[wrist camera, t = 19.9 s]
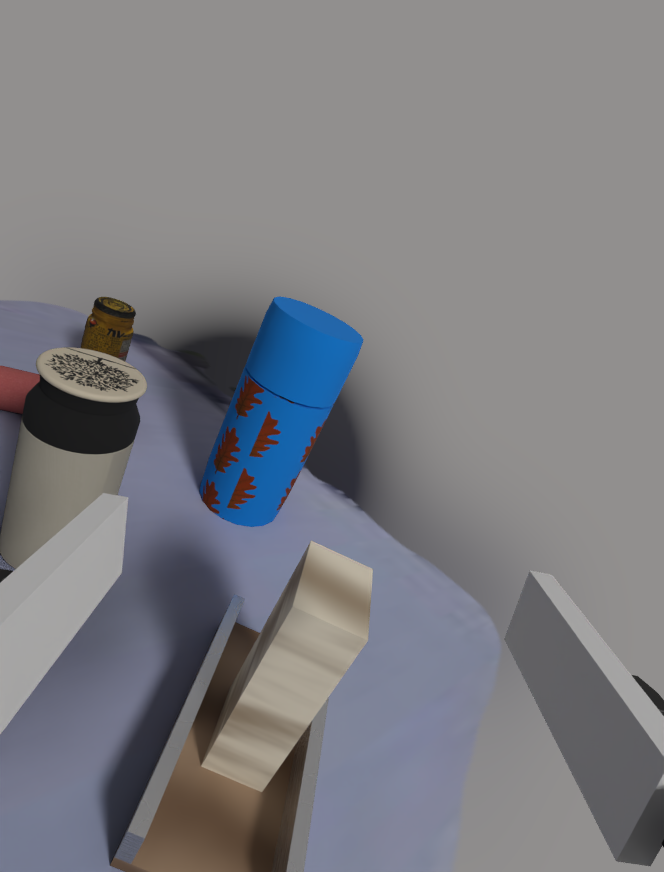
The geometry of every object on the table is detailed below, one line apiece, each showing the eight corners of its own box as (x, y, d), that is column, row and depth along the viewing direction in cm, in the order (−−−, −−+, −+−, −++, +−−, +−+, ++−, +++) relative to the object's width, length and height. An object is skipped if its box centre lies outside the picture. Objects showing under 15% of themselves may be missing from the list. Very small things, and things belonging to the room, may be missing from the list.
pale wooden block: (261, 792, 32) (367, 640, 25) (201, 766, 32) (292, 606, 25) (281, 710, 37) (372, 569, 31) (229, 688, 37) (311, 540, 31)
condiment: (102, 366, 73) (121, 294, 69) (139, 394, 71) (160, 322, 66) (58, 370, 67) (75, 291, 62) (96, 400, 65) (117, 321, 60)
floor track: (272, 930, 27) (299, 901, 25) (110, 865, 26) (127, 831, 25) (318, 668, 43) (336, 640, 42) (219, 624, 43) (234, 594, 41)
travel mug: (81, 590, 40) (133, 412, 33) (-23, 565, 38) (9, 369, 30) (112, 529, 47) (161, 372, 40) (26, 505, 45) (61, 335, 37)
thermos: (257, 471, 67) (330, 310, 57) (293, 523, 60) (383, 351, 50) (185, 472, 60) (254, 286, 50) (217, 531, 53) (305, 331, 43)
